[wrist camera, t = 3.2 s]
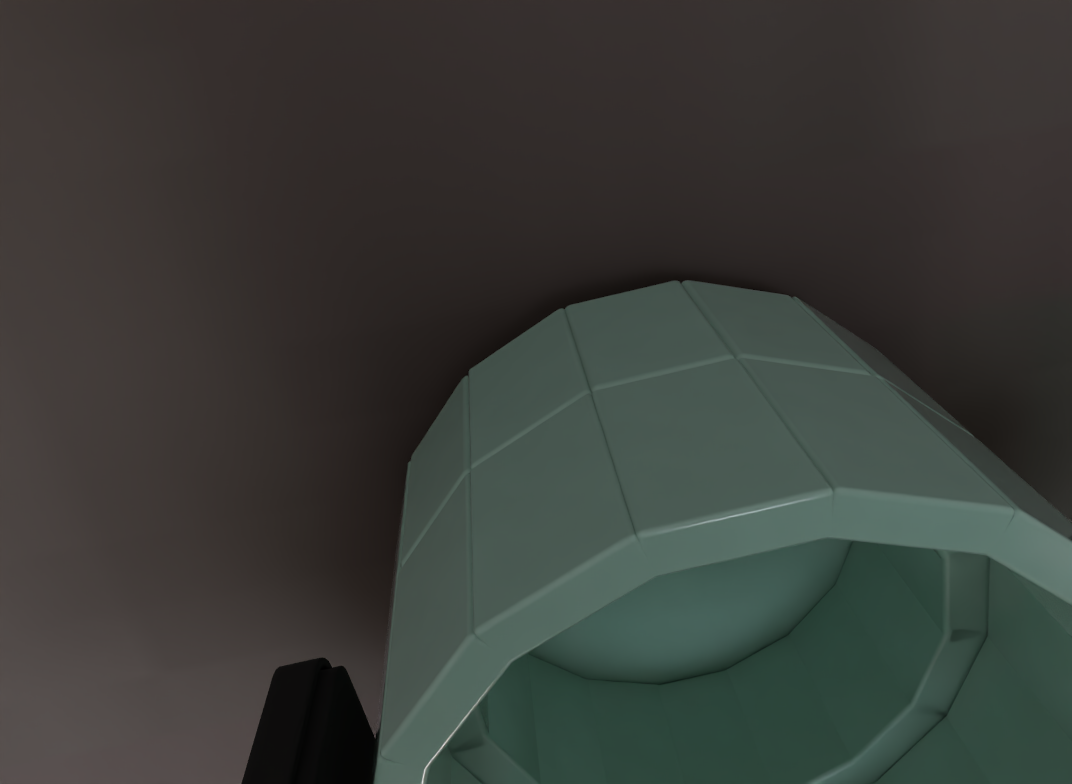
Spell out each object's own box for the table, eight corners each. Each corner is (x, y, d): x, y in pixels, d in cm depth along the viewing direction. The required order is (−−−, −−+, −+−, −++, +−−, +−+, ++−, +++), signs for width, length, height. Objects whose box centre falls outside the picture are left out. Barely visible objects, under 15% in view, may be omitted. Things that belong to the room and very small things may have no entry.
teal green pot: (333, 340, 11) (236, 625, 6) (896, 208, 11) (1247, 396, 6) (473, 737, 15) (481, 1128, 10) (908, 641, 14) (1142, 986, 9)
